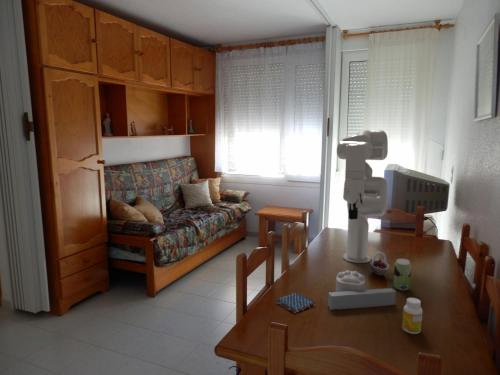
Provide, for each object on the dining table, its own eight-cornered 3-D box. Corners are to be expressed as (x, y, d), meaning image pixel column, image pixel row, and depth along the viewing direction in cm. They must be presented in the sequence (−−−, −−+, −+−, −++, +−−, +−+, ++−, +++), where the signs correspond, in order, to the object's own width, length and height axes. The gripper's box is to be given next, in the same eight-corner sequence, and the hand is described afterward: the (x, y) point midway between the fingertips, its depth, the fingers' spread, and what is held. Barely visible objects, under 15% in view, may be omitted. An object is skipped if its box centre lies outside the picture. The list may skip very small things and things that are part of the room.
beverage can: (409, 286, 147) (411, 257, 145) (410, 294, 140) (413, 264, 138) (392, 284, 149) (394, 255, 147) (393, 291, 142) (395, 261, 140)
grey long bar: (327, 305, 130) (328, 292, 129) (390, 301, 134) (391, 288, 133) (331, 309, 127) (331, 296, 126) (394, 304, 131) (395, 291, 130)
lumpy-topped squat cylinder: (334, 300, 134) (335, 278, 133) (337, 286, 146) (338, 265, 145) (364, 304, 131) (365, 281, 130) (364, 290, 143) (365, 269, 142)
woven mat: (274, 304, 132) (274, 298, 132) (296, 296, 138) (296, 291, 138) (294, 315, 124) (294, 310, 123) (316, 307, 130) (316, 301, 130)
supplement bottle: (398, 325, 117) (400, 296, 115) (415, 324, 117) (417, 296, 116) (407, 334, 112) (409, 304, 110) (424, 334, 112) (426, 304, 111)
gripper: (338, 172, 153) (337, 214, 157) (353, 178, 139) (351, 224, 142) (356, 171, 154) (354, 213, 158) (372, 177, 140) (369, 223, 143)
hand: (352, 218), depth 150 cm, fingers closed
